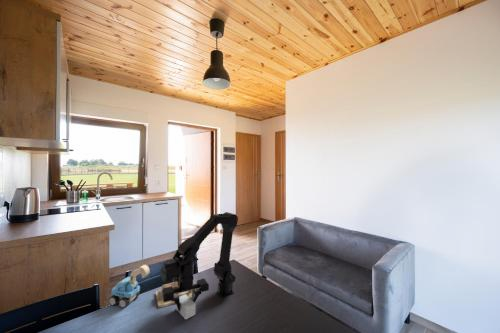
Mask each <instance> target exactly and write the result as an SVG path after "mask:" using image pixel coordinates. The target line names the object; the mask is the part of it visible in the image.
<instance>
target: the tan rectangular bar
mask: <svg viewBox="0 0 500 333" xmlns="http://www.w3.org/2000/svg"><path fill="white" fill-rule="evenodd" d="M171 286H172V288H173V289H177V288H179V286H178V283H177V282H173V281H172V282H169V283H165V284H162V287H161V290H163V288H167V287H171Z"/></svg>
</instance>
